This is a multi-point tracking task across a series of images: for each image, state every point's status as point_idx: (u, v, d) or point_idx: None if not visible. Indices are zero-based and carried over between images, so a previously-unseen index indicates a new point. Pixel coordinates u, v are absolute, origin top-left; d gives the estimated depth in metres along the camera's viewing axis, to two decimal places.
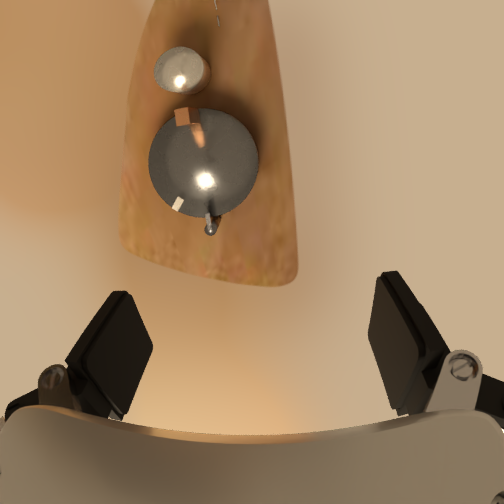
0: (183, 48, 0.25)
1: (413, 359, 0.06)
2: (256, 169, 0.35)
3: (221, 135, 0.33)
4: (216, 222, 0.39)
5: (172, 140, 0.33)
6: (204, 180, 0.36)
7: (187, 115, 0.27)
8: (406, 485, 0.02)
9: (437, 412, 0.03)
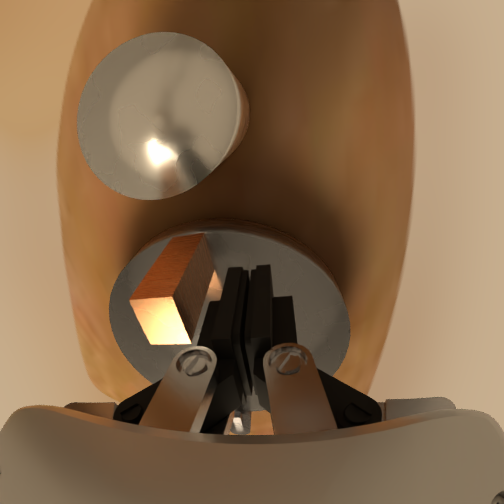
0: (171, 38, 0.07)
1: None
2: (343, 354, 0.16)
3: None
4: (249, 412, 0.20)
5: None
6: None
7: (178, 323, 0.09)
8: (406, 485, 0.02)
9: (437, 412, 0.03)
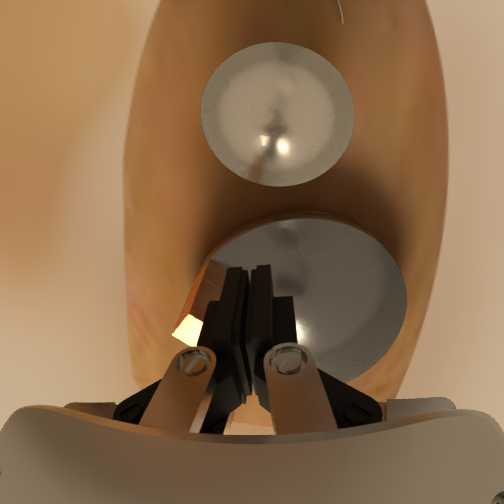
0: (300, 50, 0.08)
1: None
2: (396, 268, 0.15)
3: (295, 267, 0.15)
4: None
5: None
6: (325, 343, 0.18)
7: None
8: (406, 485, 0.02)
9: (437, 412, 0.03)
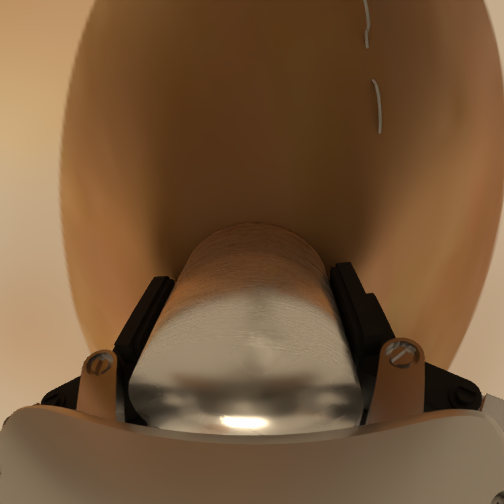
0: (289, 361, 0.05)
1: (352, 344, 0.07)
2: None
3: None
4: None
5: None
6: None
7: None
8: (406, 485, 0.02)
9: (437, 412, 0.03)
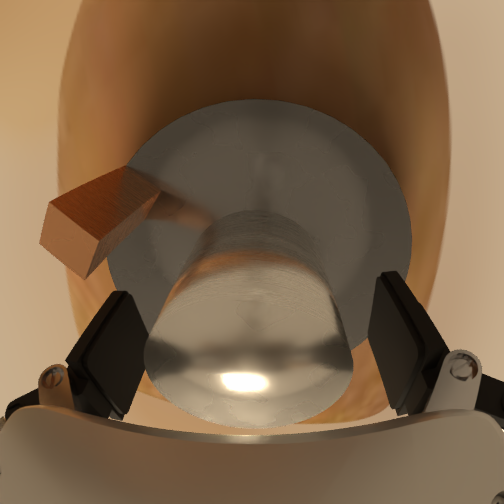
0: (286, 315, 0.06)
1: (412, 359, 0.06)
2: (391, 177, 0.10)
3: (236, 169, 0.10)
4: None
5: (152, 276, 0.13)
6: None
7: (72, 225, 0.06)
8: (406, 485, 0.02)
9: (437, 412, 0.03)
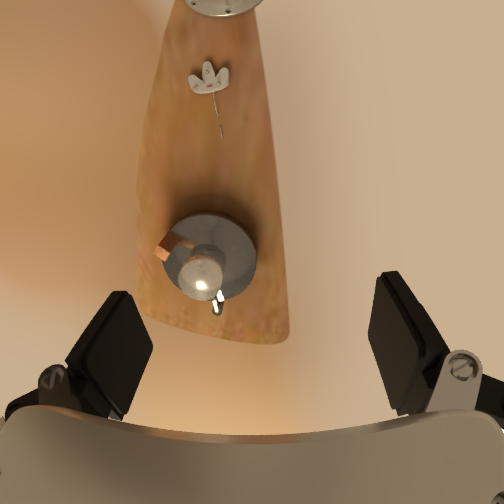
0: (203, 266, 0.36)
1: (413, 359, 0.06)
2: (243, 233, 0.40)
3: (200, 233, 0.41)
4: (221, 303, 0.47)
5: (176, 262, 0.43)
6: None
7: (163, 250, 0.36)
8: (406, 485, 0.02)
9: (437, 412, 0.03)
